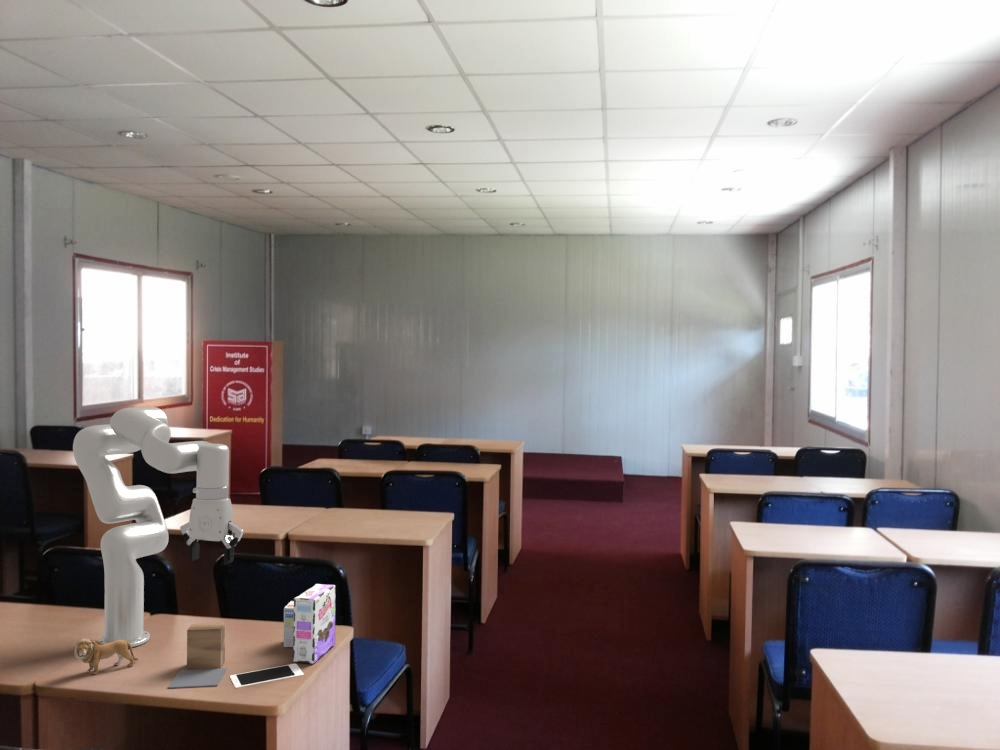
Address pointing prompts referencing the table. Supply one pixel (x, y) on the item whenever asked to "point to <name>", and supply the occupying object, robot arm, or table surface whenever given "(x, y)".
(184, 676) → the mat
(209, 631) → the tan wooden block
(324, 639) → the candy box
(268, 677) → the cell phone
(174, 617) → the table surface
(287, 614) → the light bulb box
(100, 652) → the lion figurine
